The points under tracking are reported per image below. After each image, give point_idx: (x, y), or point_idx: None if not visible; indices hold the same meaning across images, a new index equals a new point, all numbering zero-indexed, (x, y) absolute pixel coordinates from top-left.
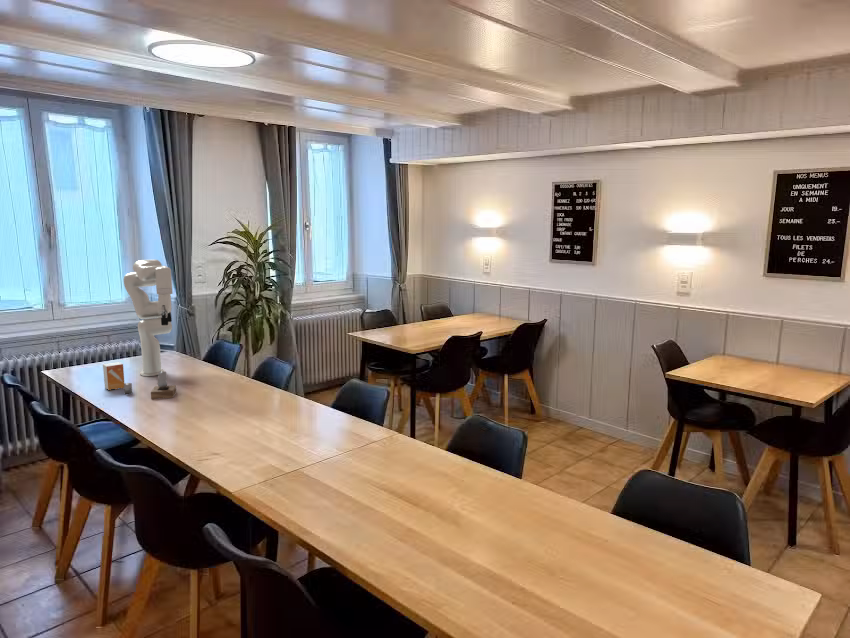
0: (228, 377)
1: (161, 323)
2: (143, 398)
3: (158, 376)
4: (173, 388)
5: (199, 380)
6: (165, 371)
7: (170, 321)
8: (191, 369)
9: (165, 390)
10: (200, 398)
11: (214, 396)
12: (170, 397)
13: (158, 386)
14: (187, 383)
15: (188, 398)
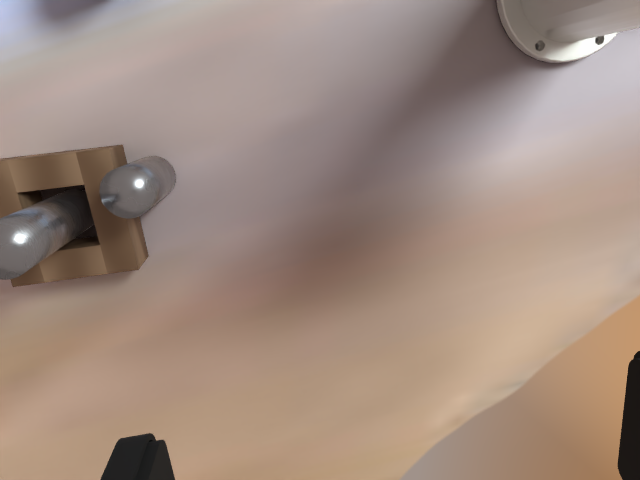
0: (401, 428)
1: (101, 477)
2: (6, 108)
3: (125, 173)
4: (66, 276)
5: (364, 310)
6: (28, 267)
7: (622, 462)
8: (600, 205)
9: None
10: (33, 405)
11: (72, 455)
12: None
13: (106, 172)
14: (311, 266)
15: (28, 351)
